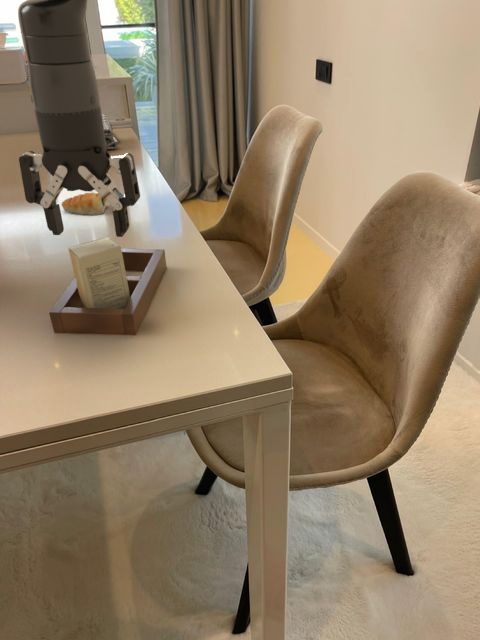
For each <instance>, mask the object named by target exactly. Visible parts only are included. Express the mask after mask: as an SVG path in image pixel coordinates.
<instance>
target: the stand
mask: <svg viewBox="0 0 480 640" xmlns="http://www.w3.org/2000/svg"><path fill="white" fill-rule="evenodd" d="M121 250H122V255H123V261H124V266H125V272H127V271H129V272H130V271H131V272H132V271H133V272H143V273H142V275H126V277H127V282H128V288H129V293H130V300H129V301H128V303H127V305H126V307H125V309H110V308H82V304H81V300H80V296H79V292H78V287H77V283H76V279H75V277H74V278H73V279H72V280H71V282H70V283H69V284H68V286H67V288H66V289H65V290H64V291H63V292H62V294H61V296H60V297H59V298H58V299H57V300H56V302H55V304H54V305H53V306H52V307H51V309H50V310H49V312H48V314H49V318H50V322H51V326H52V330H53V333H54V334H73V335H74V334H76V335H109V336H110V335H111V336H115V335H116V336H136V335H138V332H139V330H140V327H141V325H142V323H143V320H144V318H145V316H146V314H147V312H148V310H149V308H150V305H151V303H152V300H153V298H154V296H155V294H156V292H157V289H158V287H159V285H160V283H161V281H162V279H163V276H164V274H165V272H166V269H167V260H166V251H165V249H162V248H159V249H158V248H157V249H156V248H154V249H153V248H121Z"/></svg>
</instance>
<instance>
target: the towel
mask: <svg viewBox="0 0 480 640" xmlns="http://www.w3.org/2000/svg"><path fill="white" fill-rule="evenodd" d="M102 120H103V127H104V134H105V141H106V149H107V150H116V149H117V147H118V144H119V142H118V140H117V139H116V138H115V136H114V133H113V130H114V129H113V125H112V123H111V121H110V119H109V117H108V115H107V114H106V113H102Z"/></svg>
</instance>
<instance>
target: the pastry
mask: <svg viewBox="0 0 480 640" xmlns="http://www.w3.org/2000/svg"><path fill="white" fill-rule="evenodd" d="M108 204H109V202H108V201H107V200H106V199H105V198H103V197H101V196H100V195H99V194H98V192H96V193H95V192H85V193H80V194H78V195H74V196H73V197H69V198H67V199H65V200H64V201H63V202H61V207H62V208H63V210H64V211H65V212H67V213H68V214H76V215H84V216H85V215H87V216H88V215H92V216H95V215H96V216H98V215H101V214H102V215H103V214H104V212H105V211H106V207H107V206H108Z"/></svg>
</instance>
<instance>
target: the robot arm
mask: <svg viewBox="0 0 480 640" xmlns="http://www.w3.org/2000/svg"><path fill="white" fill-rule="evenodd" d="M87 7H88V0H24V1H23V2H22V3H21V4H19V6H18V9H17V18H18V24H19V30H20V34H21V41H22V44H23V45H22V46H23V50H24V55H25V59H26V65H27V73H28V74H27V75H28V85H29V90H30V100H31V103H32V105H33V110H34V115H35V119H36V120H35V121H36V125H37V129H38V134H39V139H40V144H41V146H42V149H43V152H42V153H36V152H35V151H33V150H28V151H26V152H24V153H23V154H22V155H21V156H19V158H18V162H19V163H18V164H19V169H20V175H21V179H22V186H23V192H24V198H25V200H26V202H27V203H29V204H34V203H35V204H37V205H39V206H41V207H42V209H43V212H44V217H45V221H46V226H47V229H48V230H49V231H50V232H52V235H53V236H61V234H63V232H64V230H65V227H64V222H63V217H62V212H61V207H60V203H57V200H58V198H59V197H60V194H61V193H62V192H63V190H64V189H65V190H66V191H67V192H75V191H82V192H88V193H92V192H93V191H95V192H96V193H98V194H99V195H100V196H101V197H103V198H105V199H106V200H107V202H108V204H110V206H111V207H112V208H113V209H112V217H113V223H114V230H115V237H117V238H123V237H124V235H125V234H126V233H127V232H128V230H129V229H130V219H129V212H128V207H133V206H135V205H136V203H137V202H138V201H139V200H140V198H141V191H140V186H139V181H138V174H137V170H136V164H135V163H136V162H135V159H134V155H133V154H132V153H131V152H126V153H124V155H111V154H110V153H109V152H108V149H106V141H105V134H104V127H103V120H102V114H103V113H102V108H101V100H100V94H99V86H98V80H97V77H96V73H95V69H94V66H93V65H94V64H93V60H92V55H91V54H92V53H91V47H90V41H89V33H88V27H87V20H86V17H87ZM42 167H44V169H46V171H47V172H48V173H49V174H50V175H51V176H52V178H51V180H50V182H49V183H48V185H47V187H46V189H45V191H43V189H42V182H41V176H40V170H42ZM111 167H113V168H114V170H115V172H116V173H117V174H118V175H119V176H120V177H121V181H122V187H123V192H122V191H121V189H119V187H118V185H117V182H116V181H115V180H114V179H113V178H112V176H111V175H109V174H108V172H109V170H110V169H111Z"/></svg>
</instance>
